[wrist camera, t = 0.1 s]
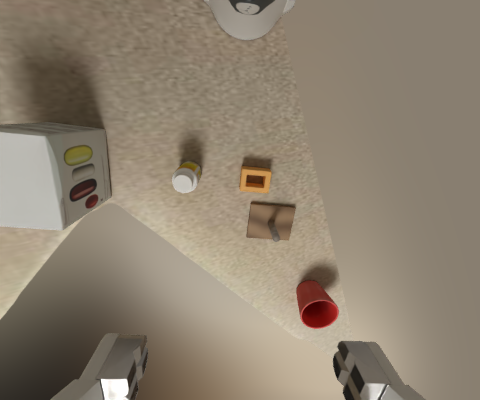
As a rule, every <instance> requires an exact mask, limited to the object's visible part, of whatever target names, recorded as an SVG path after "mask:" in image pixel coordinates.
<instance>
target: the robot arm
mask: <svg viewBox="0 0 480 400" xmlns="http://www.w3.org/2000/svg"><path fill="white" fill-rule="evenodd" d="M204 1H205V2H206V3H207V4H208V5H209V6H210V8H211V9H212V12H213V14H214V16H215V18H216V20H217V22H218V23H219V25H220V26H221V27H222V28H223V29H224V30H225V31H226V32H227V33H228V34H230V35H231V36H233V37H235V38H238V39H241V40H253V39H257V38H259V37H261V36H263V35H265V34H266V33H267V32H268V31H269V30H270V29H271V28H272V27H273V26H274V25H275V23H276V22H277V20H278V19H279V18H280V17H281V16H282V15H284V14H286V13H287V12H289V11H290V10H291V9H292V8H293V7H294V4H295V0H204ZM146 343H147V336H146V335H127V334H106V335H105V336H104V337H103V339H102V341H101V342H100V344H99V346H98V347H97V349H96V351H95V352H94V354H93V356H92V358H91V359H90V361H89V363H88V365H87V367H86V368H85V370H84V372H83V373H82V375H81V377H80V379H79V380H74V381H73V382H71V383H70V384H69V385H68V386H66V387H65V388H64V389H63V390H62V391H60V392H59V393H58V394H57V395H55V396H54V397H53V398H52V399H51V400H135V398H136V395H137V392H138V381H139V380H140V379H141V378H142V377H143V374H144V371H145V368H146V363H147V358H148V349H147V348H146V347H145V346H146ZM337 347H338V349H339V351H338V352H336V353H335V354H334V358H333V367H334V371H335V375H336V377H337V380H338V381H339V382H340V383H341V384H342V385H343V386H344V388H343V394H344V397H345V399H346V400H426V399H424V398H423V397H422V396H421V395H420V394H418V393H417V392H416V391H415V390H414V389H412V388H411V387H410V386H409V385H404V383H403V382H402V380H401V379H400V377H399V375H398V374H397V372H396V371H395V369H394V368H393V366H392V365H391V363H390V362H389V360H388V359H387V357H386V355H385V354H384V353H383V351H382V350H381V348H380V346H379V345H378V344H377V343H376V342H362V341H341V342H339V344H338V346H337Z"/></svg>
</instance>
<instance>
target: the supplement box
mask: <svg viewBox="0 0 480 400" xmlns="http://www.w3.org/2000/svg"><path fill="white" fill-rule="evenodd" d="M109 198H111V191H110V180H109V168H108V156H107V143H106V131H105V130H104V129H100V128H93V127H85V126H76V125H68V124H60V123H52V122H43V123H26V124H5V125H0V226H4V227H17V228H32V229H48V230H64V229H65V228H67V227H68V226H70V225H71V224H73V223H74V222H75V221H77V220H79V219H80V218H82V217H83V216H84V215H86V214H87V213H89V212H90V211H92V210H93V209H95V208H96V207H98V206H99V205H101V204H102V203H104V202H105V201H107V200H108V199H109Z"/></svg>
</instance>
